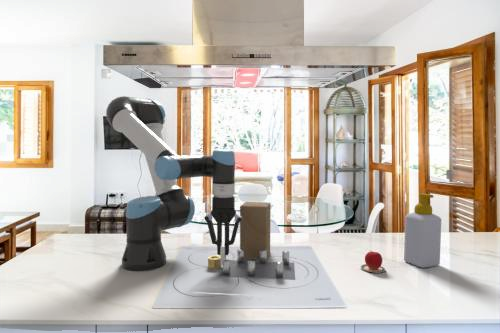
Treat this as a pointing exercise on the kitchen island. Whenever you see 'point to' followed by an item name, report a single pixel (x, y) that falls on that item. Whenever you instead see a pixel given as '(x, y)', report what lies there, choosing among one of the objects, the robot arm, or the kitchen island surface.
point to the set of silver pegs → (252, 263)
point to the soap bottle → (422, 235)
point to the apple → (373, 262)
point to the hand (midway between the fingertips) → (223, 264)
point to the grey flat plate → (260, 270)
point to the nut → (214, 262)
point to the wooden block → (255, 229)
